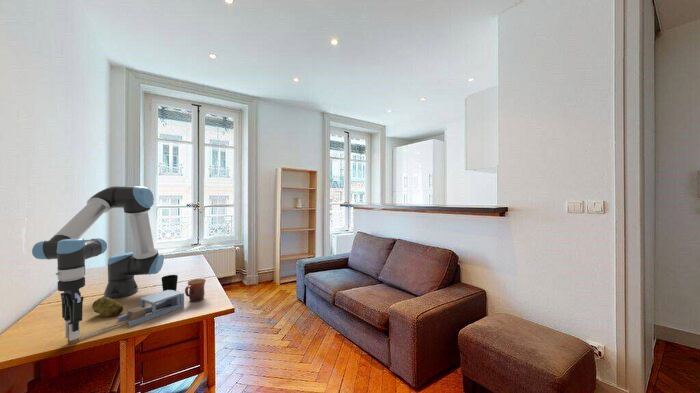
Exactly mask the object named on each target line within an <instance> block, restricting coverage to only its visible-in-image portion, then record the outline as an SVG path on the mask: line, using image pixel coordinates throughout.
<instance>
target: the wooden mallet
mask: <svg viewBox="0 0 700 393" xmlns="http://www.w3.org/2000/svg"><path fill="white" fill-rule="evenodd" d="M145 308H146V307H145ZM145 308H143V307H141V306H137V307H134V308H131V309H128V310H127V312H126V314H127V320H124V321H121V322H118V323H114V324H111V325H108V326H106V327H103V328H100V329H97V330H94V331H91V332H88V333H85V334H83V335H80V337H79V338H77V339H74V340H71V341H70V340H69V325H68V338H67V345H70V346H71V345H74V344H77V343H79V342H80V340H81V339H84V338H86V337H90V336H92V335H96V334H98V333H101V332H104V331H106V330H110V329H113V328H115V327H118V326H121V325H124V324H127V323H128V322H129V321H131V320H134V319H137V318H140V317H142V316H145V315H146V313H145Z"/></svg>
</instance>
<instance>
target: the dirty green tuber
mask: <svg viewBox="0 0 700 393" xmlns="http://www.w3.org/2000/svg"><path fill="white" fill-rule="evenodd" d="M92 311H94V312H95V313H97V314H99V315H100V316H101V317H114V316H117V315H118V316H119V314H121V313H122V312H124V306H123V304H121V303H120V302H119V301H117V300H116V299H114V298H108V297H104V296H103V297H100V298H98V299H96V300H95V301H93V303H92Z"/></svg>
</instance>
